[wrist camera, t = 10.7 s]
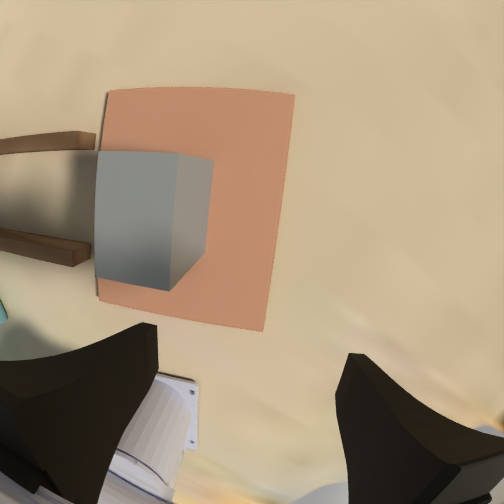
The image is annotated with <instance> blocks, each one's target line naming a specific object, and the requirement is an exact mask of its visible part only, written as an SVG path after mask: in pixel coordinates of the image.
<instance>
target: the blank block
mask: <svg viewBox="0 0 504 504" xmlns="http://www.w3.org/2000/svg"><path fill="white" fill-rule="evenodd" d="M213 168H214V160H209V159H204V158H200V157H195V156H190V155H185V154H179V153H162V152H134V151H98V162H97V174H96V190H95V218H94V251H95V277H98V278H103V279H108V280H112V281H117V282H122V283H127V284H132V285H137V286H142V287H148V288H153V289H158V290H164V291H169V292H170V291H171V289H172V288H173V287H174V286H175V285H176V284H177V283H178V282H179V281H180V280H181V278H182V277H183V276H184V275H185V274H186V273H187V272H188V271H189V270H190V269H191V268H192V266H193V265H194V264H195V263H196V262H197V261H198V260H199V259H200V258H201V257H202V256H203V255H204V253H205V249H206V237H207V226H208V215H209V205H210V195H211V186H212V177H213Z"/></svg>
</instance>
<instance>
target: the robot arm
mask: <svg viewBox="0 0 504 504" xmlns="http://www.w3.org/2000/svg"><path fill="white" fill-rule="evenodd" d="M158 369H159V365H158V339H157V325H153V324H148V323H144V322H142V323H139V324H137V325H134V326H132V327H130V328H128V329H125V330H123V331H121V332H119V333H117V334H114V335H112V336H110V337H108V338H106V339H103V340H101V341H98V342H96V343H93V344H91V345H88V346H86V347H83V348H80V349H77V350H74V351H71V352H67V353H63V354H59V355H55V356H50V357H44V358H38V359H31V360H19V361H0V504H176V503H174V502H172V499H173V496H174V493H175V490H173V486H174V484H175V481H176V478H177V475H178V472H179V469H180V466H181V463H182V460H183V457H184V454H185V451H186V449H190V450H196V449H197V435H198V388H199V387H198V384H197V383H196V382H194V381H189V380H185V379H180V378H175V377H171V376H167V375H163V374H158V373H157V371H158ZM190 390H193V391H194V392H192V391H190ZM335 400H336V415H337V420H338V425H339V430H340V435H341V439H342V444H343V449H344V454H345V458H346V464H347V472H348V489H349V490H348V491H349V504H488V503H490V502H491V500H492V497H491V495H490V493H489V492H490V491H491V490H492V489H493V488H494V487H495V486H496V485H497V484H498V483H499V482H500V480H502V478H503V477H504V438H502V437H498V436H494V435H490V434H486V433H482V432H479V431H477V430H474V429H471V428H468V427H466V426H463V425H461V424H459V423H456V422H454V421H452V420H450V419H448V418H446V417H444V416H442V415H441V414H439V413H437V412H435V411H434V410H432V409H431V408H429V407H427V406H426V405H424V404H423V403H421V402H420V401H418V400H417V399H416V398H414V397H413V396H412V395H411V394H409V393H408V392H407V391H405V390H404V389H403V388H402V387H401V386H399V385H398V384H397V383H396V382H395V381H394V380H393V379H391V378H390V377H389V376H388V375H387V374H386V373H385V372H384V371H383V370H382V369H381V368H380V367H378V366H377V365H376V364H375V363H374V362H373V361H372V360H371V359H370V358H368V357H367V356H366V355H365V354H356V353H349V354H348V358H347V361H346V364H345V367H344V370H343V373H342V376H341V379H340V382H339V385H338V387H337V390H336V393H335ZM500 504H504V502H502V503H500Z"/></svg>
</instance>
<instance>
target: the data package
mask: <svg viewBox="0 0 504 504" xmlns="http://www.w3.org/2000/svg"><path fill="white" fill-rule="evenodd" d="M7 319H8V317H7V314H6V312H5V310H4V308H3V306H2V303H1V301H0V325H1V324H2V323H4V322H5V321H6V320H7Z"/></svg>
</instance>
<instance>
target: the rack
mask: <svg viewBox="0 0 504 504" xmlns="http://www.w3.org/2000/svg"><path fill="white" fill-rule="evenodd" d="M95 139H96V134H94V133H87V132H81V131H69V132H57V133H47V134H37V135H29V136H21V137H14V138H7V139H1V140H0V155H3V154H13V153H25V152H40V151H59V150H94V148H95ZM0 250H2V251H6V252H9V253H13V254H17V255H22V256H26V257H30V258H34V259H38V260H43V261H47V262H51V263H56V264H60V265H65V266H69V267H74V266H76V265H78V264H80V263H82V262H84V261H86V260H88V259H90V258H91V251H90V243H85V242H79V241H72V240H66V239H60V238H54V237H48V236H43V235H37V234H31V233H25V232H19V231H14V230H8V229H2V228H0Z"/></svg>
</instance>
